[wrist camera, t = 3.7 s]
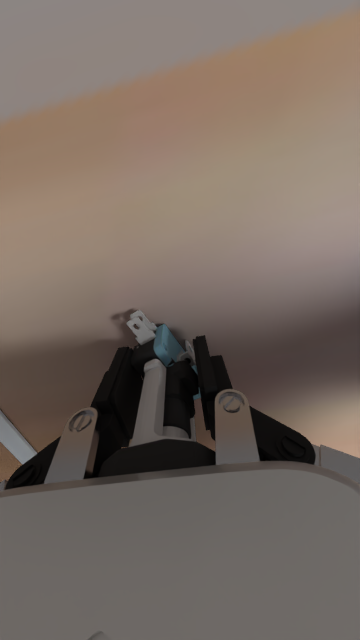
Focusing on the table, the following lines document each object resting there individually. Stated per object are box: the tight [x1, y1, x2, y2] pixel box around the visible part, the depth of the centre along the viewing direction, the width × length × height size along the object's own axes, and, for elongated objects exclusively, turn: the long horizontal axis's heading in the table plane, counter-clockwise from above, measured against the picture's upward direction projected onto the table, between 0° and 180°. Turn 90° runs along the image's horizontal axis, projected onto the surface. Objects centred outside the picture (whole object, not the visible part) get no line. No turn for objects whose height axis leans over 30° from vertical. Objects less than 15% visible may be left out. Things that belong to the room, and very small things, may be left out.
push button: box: [98, 310, 216, 478], centre depth 9 cm, size 7×5×10 cm
